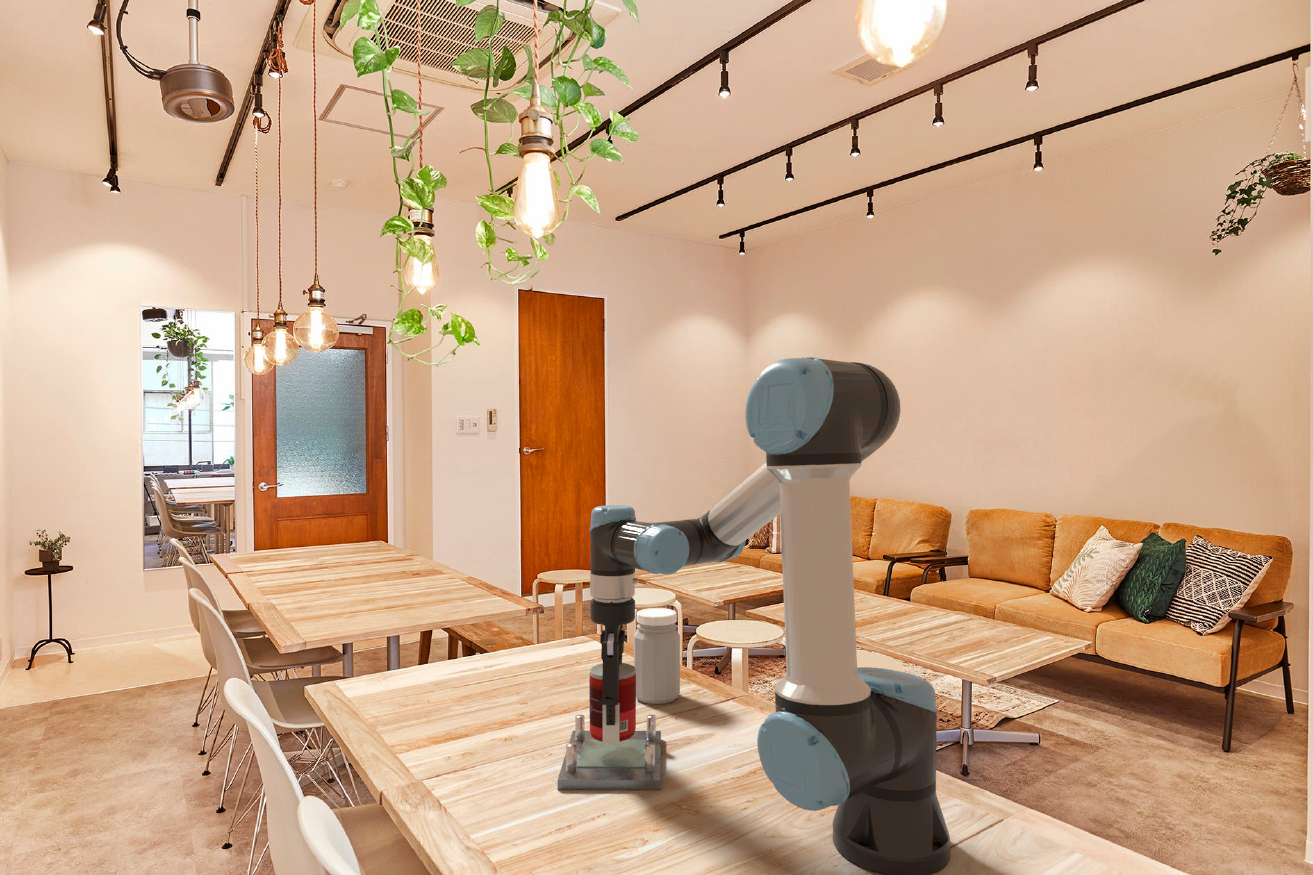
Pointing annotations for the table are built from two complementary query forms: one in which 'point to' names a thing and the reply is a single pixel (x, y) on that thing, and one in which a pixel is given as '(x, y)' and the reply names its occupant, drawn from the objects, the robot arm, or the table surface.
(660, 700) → the jar
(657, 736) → the plate
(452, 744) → the table surface
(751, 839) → the table surface
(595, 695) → the canned food
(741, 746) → the table surface
